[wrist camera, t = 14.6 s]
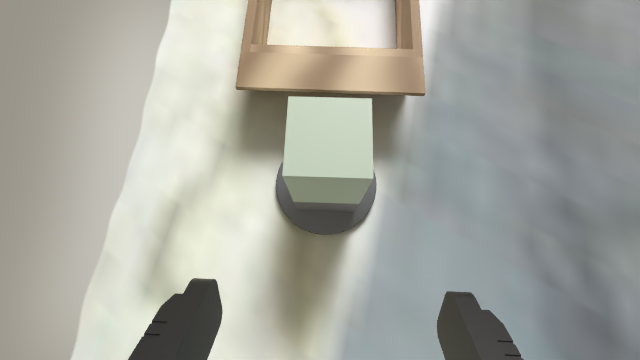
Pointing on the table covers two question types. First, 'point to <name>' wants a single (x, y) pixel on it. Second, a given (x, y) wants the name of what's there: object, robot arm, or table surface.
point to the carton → (332, 60)
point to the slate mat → (321, 219)
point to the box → (328, 152)
